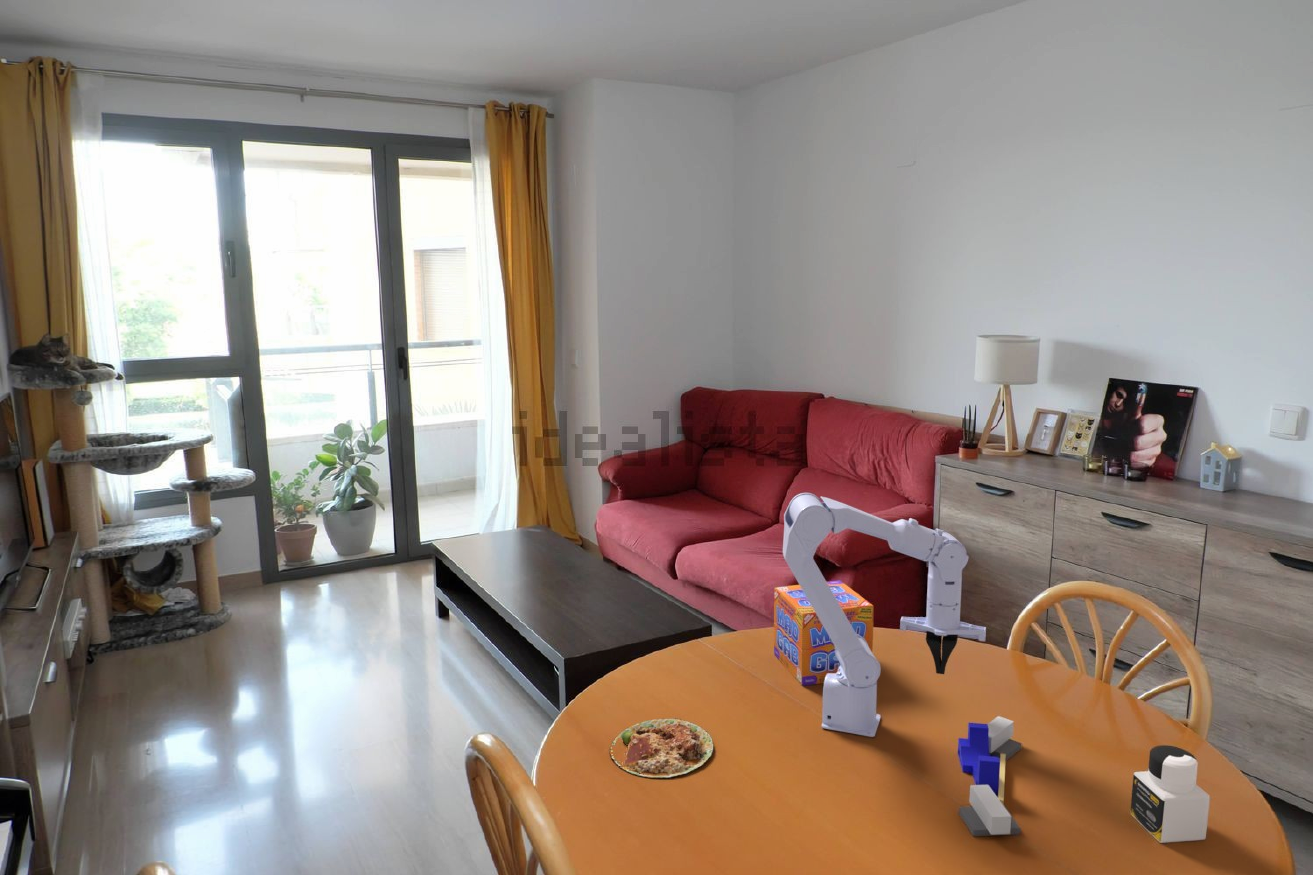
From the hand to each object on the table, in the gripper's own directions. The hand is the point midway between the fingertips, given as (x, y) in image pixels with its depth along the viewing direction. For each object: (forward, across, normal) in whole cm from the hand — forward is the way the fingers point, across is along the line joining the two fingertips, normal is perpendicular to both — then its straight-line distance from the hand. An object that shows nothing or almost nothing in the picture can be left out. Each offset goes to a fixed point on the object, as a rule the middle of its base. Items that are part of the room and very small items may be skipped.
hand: (940, 671), depth 158 cm
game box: (+10, -25, +16) cm, 31 cm away
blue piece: (+10, +7, -15) cm, 20 cm away
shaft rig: (+10, +10, -17) cm, 22 cm away
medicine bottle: (+10, +34, -20) cm, 41 cm away
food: (+11, -44, -27) cm, 52 cm away
